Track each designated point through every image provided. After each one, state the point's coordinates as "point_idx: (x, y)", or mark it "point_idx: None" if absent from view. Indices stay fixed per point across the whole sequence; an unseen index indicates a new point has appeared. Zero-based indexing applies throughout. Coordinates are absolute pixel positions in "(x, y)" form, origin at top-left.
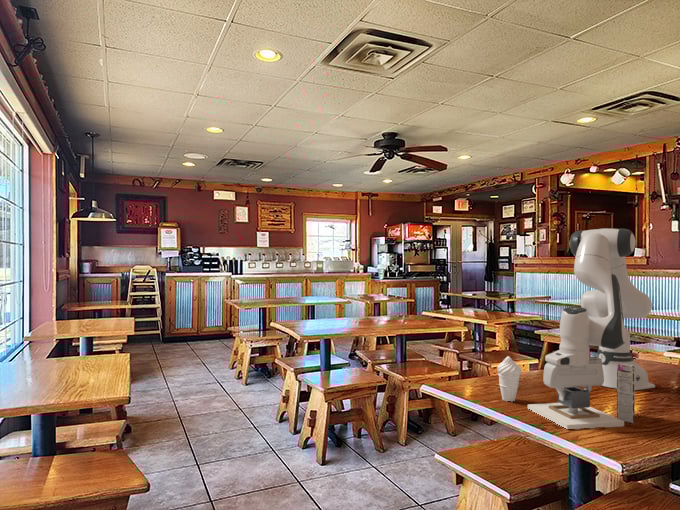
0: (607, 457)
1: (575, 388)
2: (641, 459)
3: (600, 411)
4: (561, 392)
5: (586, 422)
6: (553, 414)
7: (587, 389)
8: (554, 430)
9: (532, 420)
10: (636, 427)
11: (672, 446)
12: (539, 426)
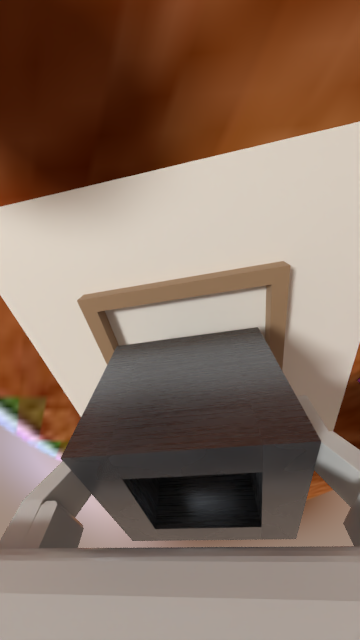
0: None
1: (259, 465)
2: None
3: (354, 344)
4: (72, 502)
5: None
6: (84, 378)
7: (354, 497)
8: (71, 436)
9: (8, 373)
10: (355, 425)
11: (310, 496)
12: (30, 414)
